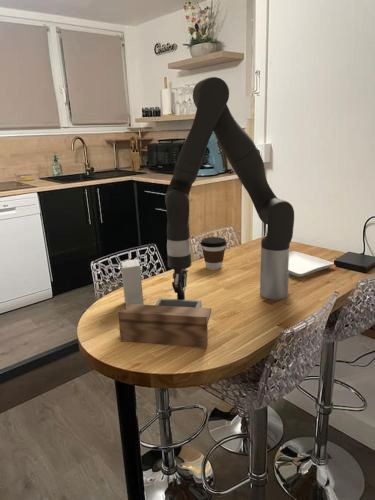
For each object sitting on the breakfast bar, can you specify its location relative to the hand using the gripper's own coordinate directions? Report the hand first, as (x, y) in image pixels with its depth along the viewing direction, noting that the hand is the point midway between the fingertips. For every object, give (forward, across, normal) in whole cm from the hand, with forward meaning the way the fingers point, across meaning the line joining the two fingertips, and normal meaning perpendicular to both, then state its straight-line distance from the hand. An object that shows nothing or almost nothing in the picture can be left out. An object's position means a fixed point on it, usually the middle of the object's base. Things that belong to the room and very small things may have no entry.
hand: (181, 302), depth 126 cm
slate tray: (+1, -11, 0) cm, 11 cm away
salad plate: (+2, +42, -40) cm, 58 cm away
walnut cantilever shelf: (+1, -19, 0) cm, 19 cm away
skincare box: (+2, -2, +16) cm, 16 cm away
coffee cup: (+2, +39, -6) cm, 39 cm away
